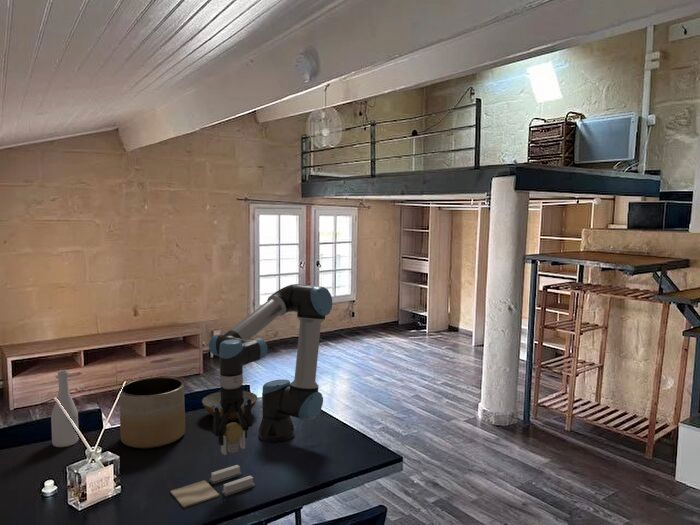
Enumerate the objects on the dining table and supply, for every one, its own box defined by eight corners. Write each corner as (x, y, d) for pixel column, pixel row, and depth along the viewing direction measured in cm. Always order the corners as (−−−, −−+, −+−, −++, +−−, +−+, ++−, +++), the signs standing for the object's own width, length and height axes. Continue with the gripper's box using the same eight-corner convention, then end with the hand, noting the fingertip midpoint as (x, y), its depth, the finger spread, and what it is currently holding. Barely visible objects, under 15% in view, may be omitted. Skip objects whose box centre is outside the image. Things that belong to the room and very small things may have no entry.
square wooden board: (170, 492, 176) (170, 490, 176) (204, 481, 183) (204, 479, 183) (183, 508, 166) (183, 506, 166) (219, 496, 174) (219, 494, 174)
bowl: (268, 415, 244) (268, 398, 244) (221, 431, 226) (221, 413, 225) (237, 402, 262) (237, 386, 261) (191, 415, 243) (191, 398, 243)
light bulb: (226, 457, 177) (225, 428, 176) (221, 449, 183) (221, 421, 182) (244, 452, 180) (244, 424, 179) (239, 445, 186) (239, 418, 185)
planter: (198, 432, 225) (197, 382, 223) (151, 456, 202) (149, 400, 200) (155, 421, 236) (154, 373, 234) (106, 442, 214) (105, 389, 212)
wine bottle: (46, 445, 211) (43, 372, 208) (67, 436, 219) (64, 366, 217) (63, 449, 207) (60, 375, 204) (84, 440, 216) (81, 368, 213)
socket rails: (209, 480, 184) (209, 472, 183) (237, 471, 190) (237, 463, 190) (225, 496, 174) (225, 487, 173) (254, 486, 180) (254, 477, 180)
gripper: (209, 394, 170) (211, 462, 172) (262, 382, 182) (263, 446, 184) (200, 388, 176) (202, 454, 178) (251, 377, 188) (253, 439, 190)
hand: (233, 450), depth 181 cm, fingers closed on light bulb, 6 cm apart
